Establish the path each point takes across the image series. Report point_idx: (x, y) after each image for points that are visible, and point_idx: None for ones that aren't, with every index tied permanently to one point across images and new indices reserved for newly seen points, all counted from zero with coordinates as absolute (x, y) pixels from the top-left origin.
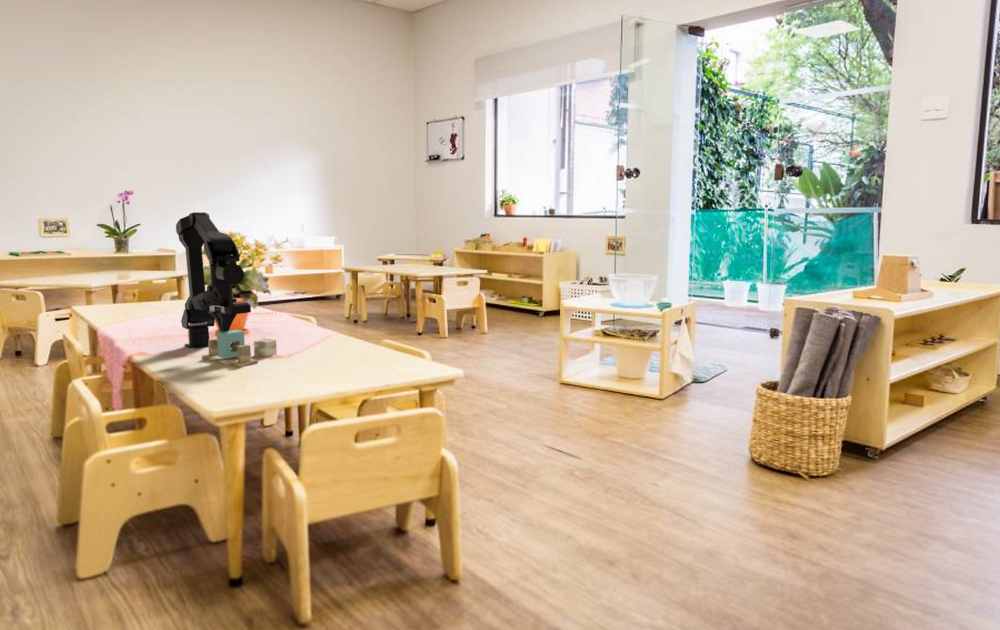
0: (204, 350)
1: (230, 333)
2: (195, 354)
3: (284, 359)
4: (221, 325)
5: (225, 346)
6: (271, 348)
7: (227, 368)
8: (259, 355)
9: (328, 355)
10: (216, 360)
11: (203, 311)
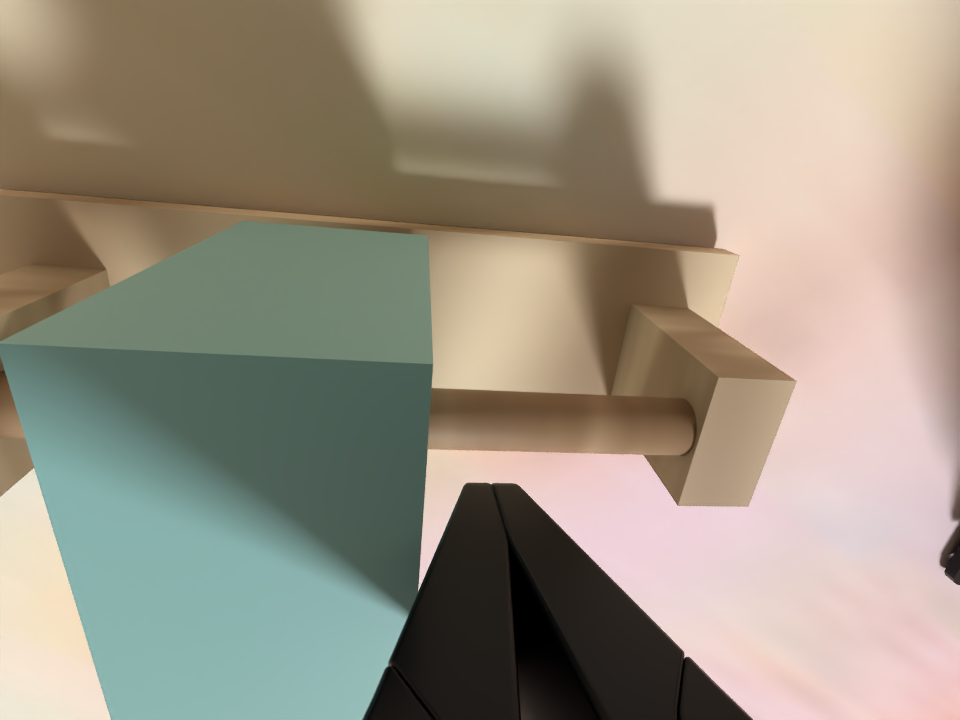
0: (917, 452)
1: (45, 490)
2: (899, 320)
3: (76, 619)
4: (476, 641)
5: (180, 259)
6: None
7: (61, 79)
8: None
9: None
10: (464, 229)
11: None
